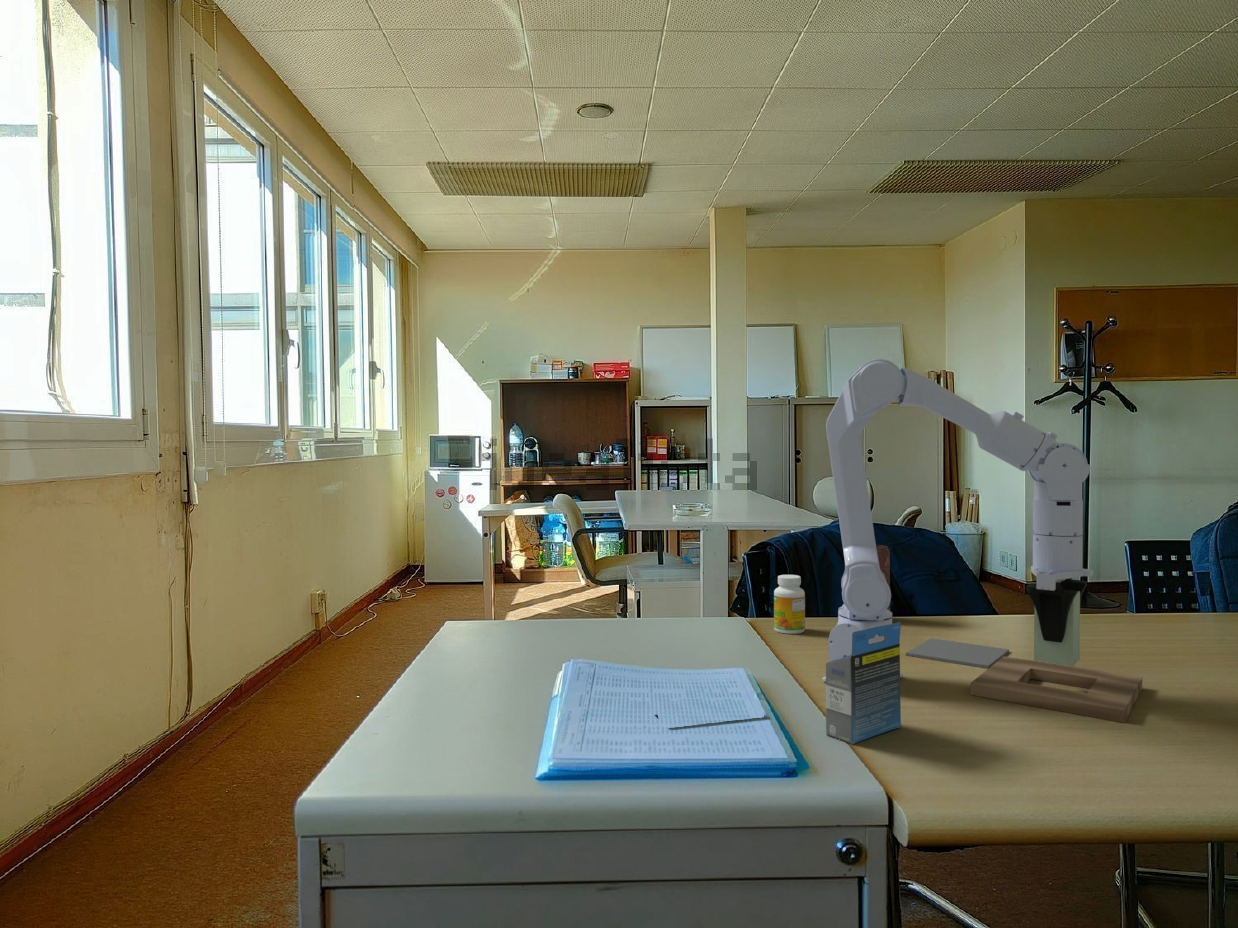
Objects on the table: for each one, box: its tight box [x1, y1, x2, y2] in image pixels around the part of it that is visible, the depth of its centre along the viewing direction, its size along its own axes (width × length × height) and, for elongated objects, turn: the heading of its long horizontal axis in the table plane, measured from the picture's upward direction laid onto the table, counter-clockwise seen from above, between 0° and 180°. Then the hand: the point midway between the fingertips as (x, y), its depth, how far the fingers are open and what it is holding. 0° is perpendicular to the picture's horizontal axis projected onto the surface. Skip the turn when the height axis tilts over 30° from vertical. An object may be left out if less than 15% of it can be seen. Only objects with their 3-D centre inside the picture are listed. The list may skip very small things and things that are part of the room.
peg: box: [1033, 591, 1081, 667], centre depth 103 cm, size 4×4×9 cm
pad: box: [905, 638, 1010, 669], centre depth 122 cm, size 12×12×1 cm
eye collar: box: [969, 655, 1143, 724], centre depth 103 cm, size 17×17×2 cm
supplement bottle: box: [773, 574, 806, 635], centre depth 138 cm, size 5×5×10 cm
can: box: [876, 544, 891, 611], centre depth 147 cm, size 6×6×14 cm
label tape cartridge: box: [825, 621, 902, 745], centre depth 88 cm, size 9×4×12 cm, turn 126°
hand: (1057, 637), depth 103 cm, fingers closed on peg, 4 cm apart
